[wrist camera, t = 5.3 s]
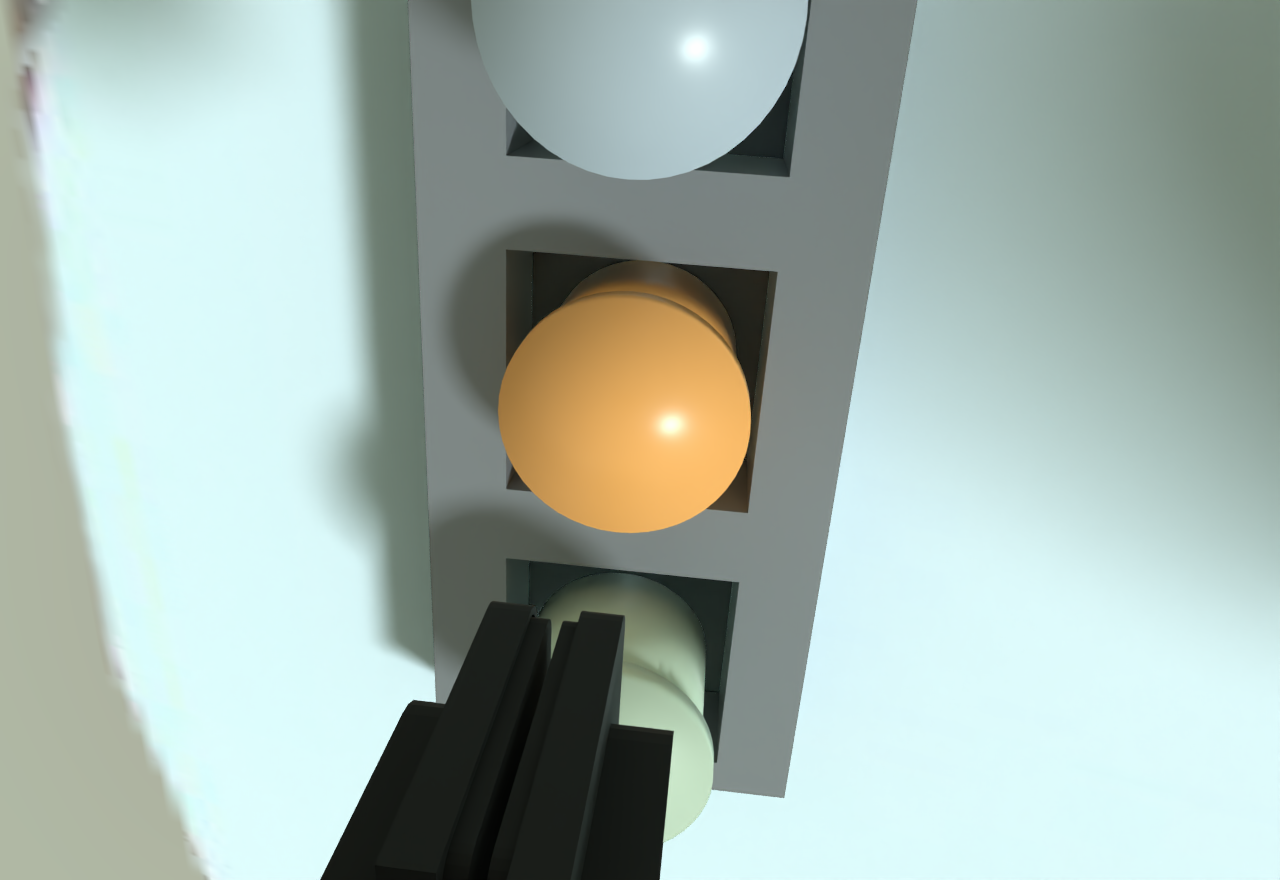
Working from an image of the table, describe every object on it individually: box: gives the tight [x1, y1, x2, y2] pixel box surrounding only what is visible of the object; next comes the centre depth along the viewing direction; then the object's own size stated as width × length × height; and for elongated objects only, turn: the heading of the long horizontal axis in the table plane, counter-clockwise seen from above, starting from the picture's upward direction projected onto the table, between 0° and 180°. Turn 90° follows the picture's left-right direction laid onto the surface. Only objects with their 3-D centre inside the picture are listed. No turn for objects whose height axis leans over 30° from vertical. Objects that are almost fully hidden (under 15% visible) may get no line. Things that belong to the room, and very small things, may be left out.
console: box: [408, 0, 917, 798], centre depth 23 cm, size 10×24×3 cm, turn 176°
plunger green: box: [538, 573, 714, 843], centre depth 23 cm, size 5×5×5 cm
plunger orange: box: [498, 260, 751, 533], centre depth 22 cm, size 5×5×5 cm
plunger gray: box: [471, 0, 808, 180], centre depth 17 cm, size 5×5×5 cm
